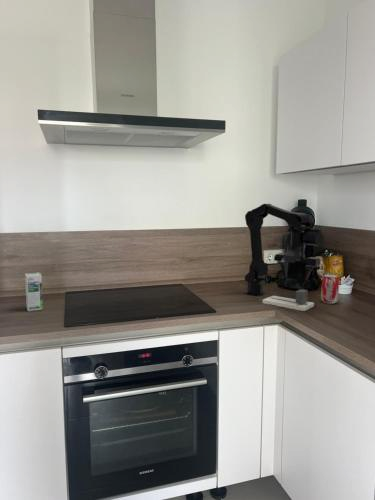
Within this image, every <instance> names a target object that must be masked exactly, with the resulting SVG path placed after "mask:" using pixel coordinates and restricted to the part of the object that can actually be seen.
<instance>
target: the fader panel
mask: <svg viewBox="0 0 375 500" xmlns="http://www.w3.org/2000/svg"><path fill="white" fill-rule="evenodd" d="M262 304H265V305H270V304H271V306H275V305H276V307H281V308H282V307H283V308H286V309H291V310H297V311H301V312H305V311H307V310H309V309H311V308H314V306H315V302H311V301H307V302H306V303H304V304H298V303H296V298H289V297H283V296H280V295H279V296H277V295H271V296H269V297H266V298H264V299H262Z"/></svg>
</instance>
